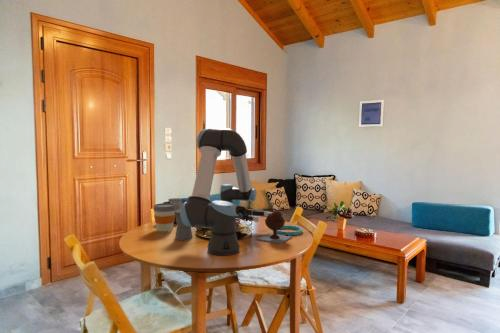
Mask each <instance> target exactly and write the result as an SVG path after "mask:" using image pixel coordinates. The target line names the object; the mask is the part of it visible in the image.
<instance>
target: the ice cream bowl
mask: <svg viewBox="0 0 500 333" xmlns="http://www.w3.org/2000/svg"><path fill="white" fill-rule="evenodd" d="M264 223H265V225H266V227H267V228H268V229H269V230H271V231H272V234H273V235H271V236H270V238H271V239H279V238H280V237H279V236H278V235H276V231H277V230H279V231H280V230H282V229H281V228H282V227H283V226H284V225H285V223H286V220H285V218H284V217H283V214H282V212H281V211H280V210H279V209H278V210H273V212H271V213H270V214H268V215H267V217H266V218H265V220H264Z"/></svg>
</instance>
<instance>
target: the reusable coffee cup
mask: <svg viewBox="0 0 500 333" xmlns="http://www.w3.org/2000/svg"><path fill="white" fill-rule="evenodd" d="M175 210H176V207H175V204H172V203H164V202H162V203H157V204H154V205H153V212H154V216H153V217H154V224H155V226H156V231H157V232H158V231H164V232H163V233H167V232H166V231H170V232H172V231H174V224H173V223H174V221H175V214H174V213H175ZM171 230H172V231H171Z"/></svg>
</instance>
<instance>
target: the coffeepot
mask: <svg viewBox="0 0 500 333" xmlns="http://www.w3.org/2000/svg"><path fill="white" fill-rule="evenodd" d="M180 211H181V209H179V210H176V211H175V213H174V214H175V216H176V222H177V225H176V231H175V238H174V239H175V240H176V239H177V240H176V241H179V240H186V241H191V240H192V239H193V231H192V227H190V226H185V225H184V224H183V222H182V220H181V215H180Z"/></svg>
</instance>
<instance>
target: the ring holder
mask: <svg viewBox="0 0 500 333" xmlns="http://www.w3.org/2000/svg"><path fill="white" fill-rule="evenodd" d="M284 230H293V231H284ZM276 233H277V234H279V235H285V236H286V235H288V236H292V237H293V235H294V236H298V235H301V234H302V233H303V229H302V227H301V226H297V225H292V224H291V225H290V224H284V226H283V227H282V228H281V229H279V230H277V231H276Z"/></svg>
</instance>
